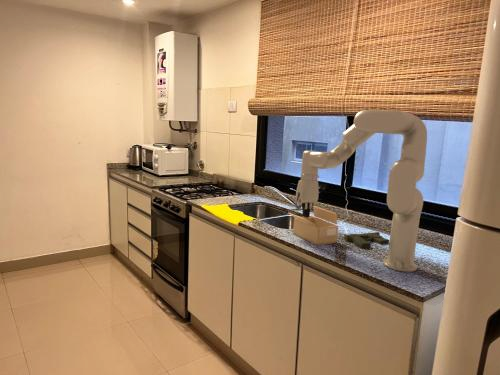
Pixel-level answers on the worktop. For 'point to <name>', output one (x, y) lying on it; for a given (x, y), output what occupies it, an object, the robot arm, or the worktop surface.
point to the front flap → (303, 219)
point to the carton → (316, 231)
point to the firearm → (365, 239)
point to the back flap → (325, 214)
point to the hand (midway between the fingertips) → (305, 216)
